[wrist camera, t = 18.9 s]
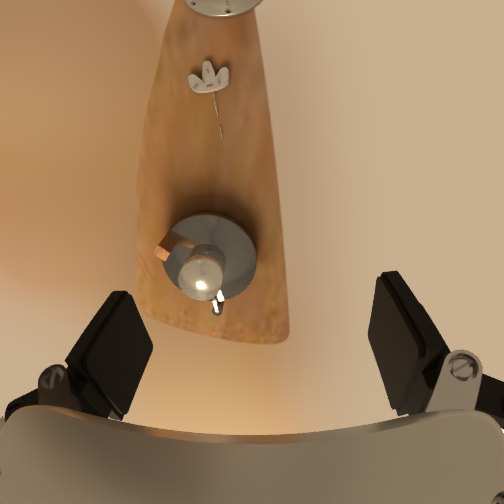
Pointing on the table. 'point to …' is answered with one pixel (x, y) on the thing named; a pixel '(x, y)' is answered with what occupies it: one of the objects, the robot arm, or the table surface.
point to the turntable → (215, 233)
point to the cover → (203, 272)
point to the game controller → (210, 80)
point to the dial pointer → (217, 307)
